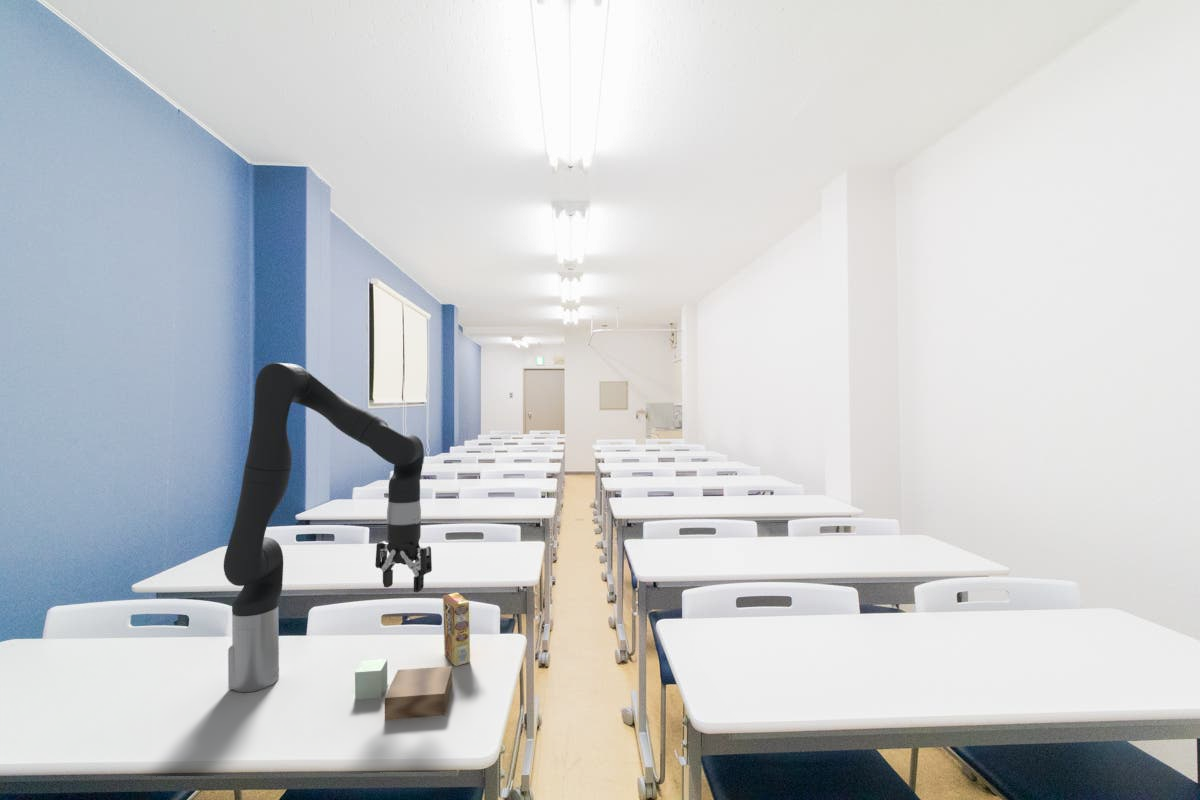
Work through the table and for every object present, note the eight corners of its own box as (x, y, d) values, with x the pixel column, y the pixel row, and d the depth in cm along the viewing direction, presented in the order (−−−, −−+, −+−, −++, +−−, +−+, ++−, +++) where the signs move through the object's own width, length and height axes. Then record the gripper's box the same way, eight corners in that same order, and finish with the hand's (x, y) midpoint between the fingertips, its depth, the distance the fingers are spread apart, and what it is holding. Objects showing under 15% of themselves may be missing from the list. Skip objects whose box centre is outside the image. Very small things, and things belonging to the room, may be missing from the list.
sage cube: (355, 699, 123) (355, 672, 123) (362, 686, 129) (362, 660, 129) (381, 697, 124) (381, 670, 124) (387, 685, 129) (387, 659, 129)
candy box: (470, 662, 140) (470, 601, 140) (454, 667, 137) (453, 605, 137) (458, 649, 147) (458, 591, 147) (442, 654, 145) (442, 594, 145)
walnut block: (384, 722, 115) (384, 697, 115) (398, 691, 127) (397, 669, 127) (444, 717, 116) (444, 693, 116) (452, 687, 128) (452, 666, 128)
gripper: (368, 520, 130) (367, 589, 130) (418, 526, 125) (417, 598, 125) (390, 514, 137) (389, 580, 137) (439, 519, 132) (438, 587, 132)
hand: (402, 588), depth 131 cm, fingers open, 8 cm apart
